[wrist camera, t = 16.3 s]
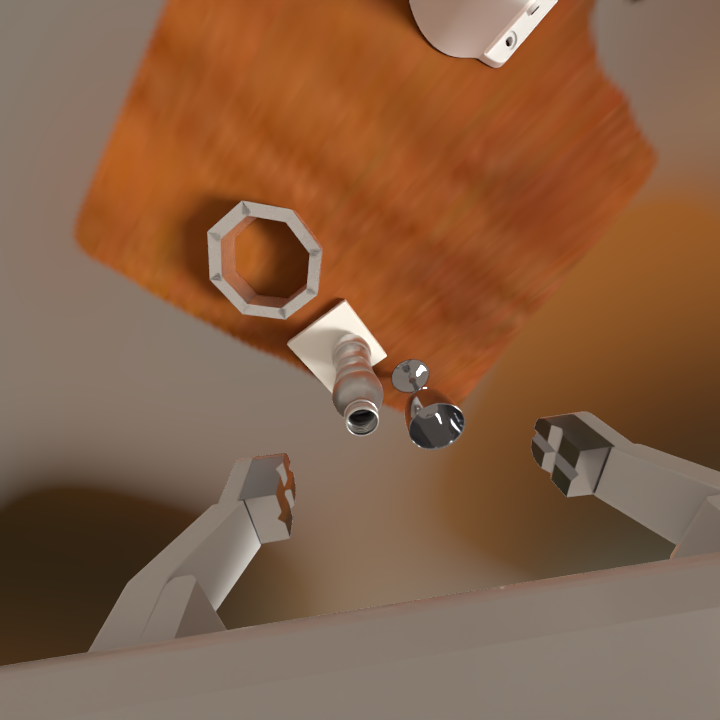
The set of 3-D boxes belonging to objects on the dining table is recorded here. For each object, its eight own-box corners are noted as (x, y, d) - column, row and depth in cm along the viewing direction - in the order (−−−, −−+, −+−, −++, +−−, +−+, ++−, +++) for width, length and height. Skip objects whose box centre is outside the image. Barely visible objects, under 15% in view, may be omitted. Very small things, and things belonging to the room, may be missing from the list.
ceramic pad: (345, 298, 46) (345, 300, 45) (385, 352, 51) (387, 356, 50) (288, 341, 48) (286, 344, 47) (332, 389, 53) (332, 393, 52)
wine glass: (381, 382, 54) (397, 436, 40) (407, 349, 51) (434, 394, 38) (413, 401, 56) (439, 457, 42) (440, 370, 54) (476, 419, 40)
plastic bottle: (371, 331, 47) (397, 396, 29) (366, 368, 50) (387, 448, 32) (332, 328, 47) (334, 393, 29) (329, 365, 49) (329, 446, 31)
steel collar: (276, 183, 39) (267, 177, 33) (339, 270, 44) (340, 276, 39) (203, 249, 41) (184, 252, 36) (271, 323, 47) (263, 335, 42)
